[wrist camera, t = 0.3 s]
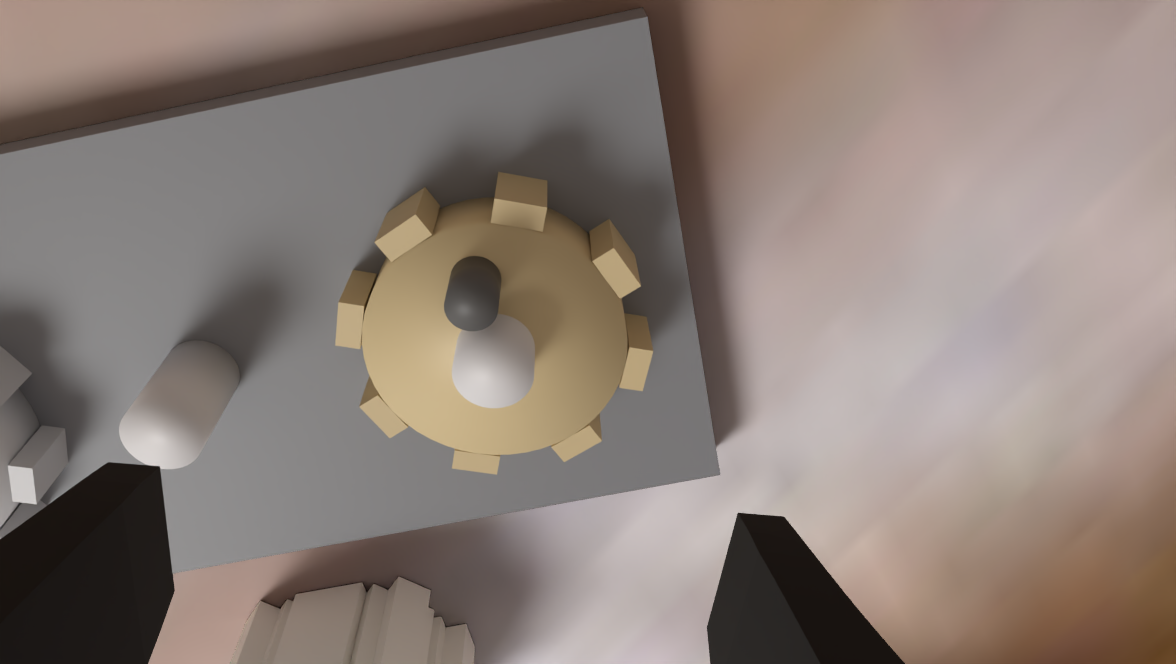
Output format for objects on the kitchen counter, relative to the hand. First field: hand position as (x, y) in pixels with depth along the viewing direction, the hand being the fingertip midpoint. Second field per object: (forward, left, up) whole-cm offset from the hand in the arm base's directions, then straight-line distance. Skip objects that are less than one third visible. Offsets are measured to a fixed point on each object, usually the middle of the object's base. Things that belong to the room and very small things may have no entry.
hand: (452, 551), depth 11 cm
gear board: (-1, +7, -10) cm, 12 cm away
